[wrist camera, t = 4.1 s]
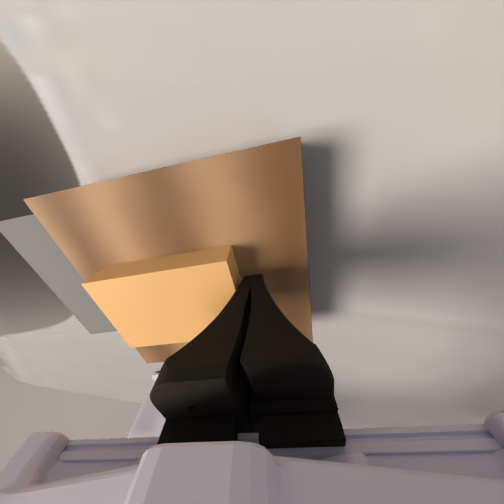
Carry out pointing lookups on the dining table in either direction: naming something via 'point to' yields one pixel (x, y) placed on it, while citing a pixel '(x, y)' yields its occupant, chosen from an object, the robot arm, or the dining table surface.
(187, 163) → the panel
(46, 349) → the dining table surface
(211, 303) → the block
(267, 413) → the robot arm
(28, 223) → the mat
